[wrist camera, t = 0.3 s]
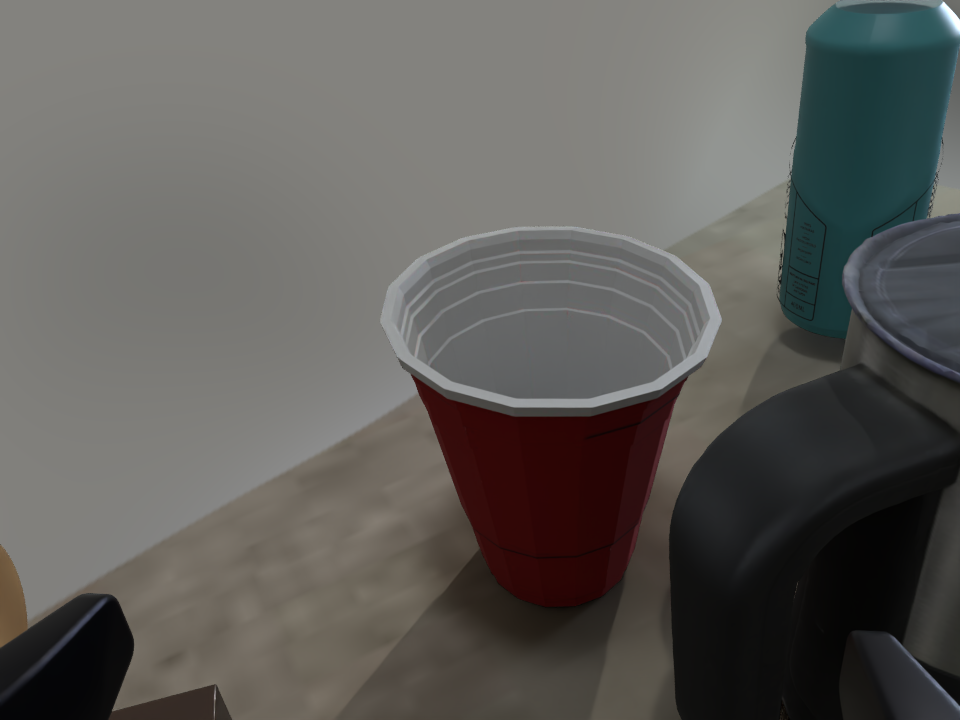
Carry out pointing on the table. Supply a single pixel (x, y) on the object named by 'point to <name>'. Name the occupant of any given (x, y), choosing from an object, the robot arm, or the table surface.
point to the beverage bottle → (862, 142)
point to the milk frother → (832, 504)
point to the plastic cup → (551, 390)
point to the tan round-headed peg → (10, 601)
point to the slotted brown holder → (179, 707)
